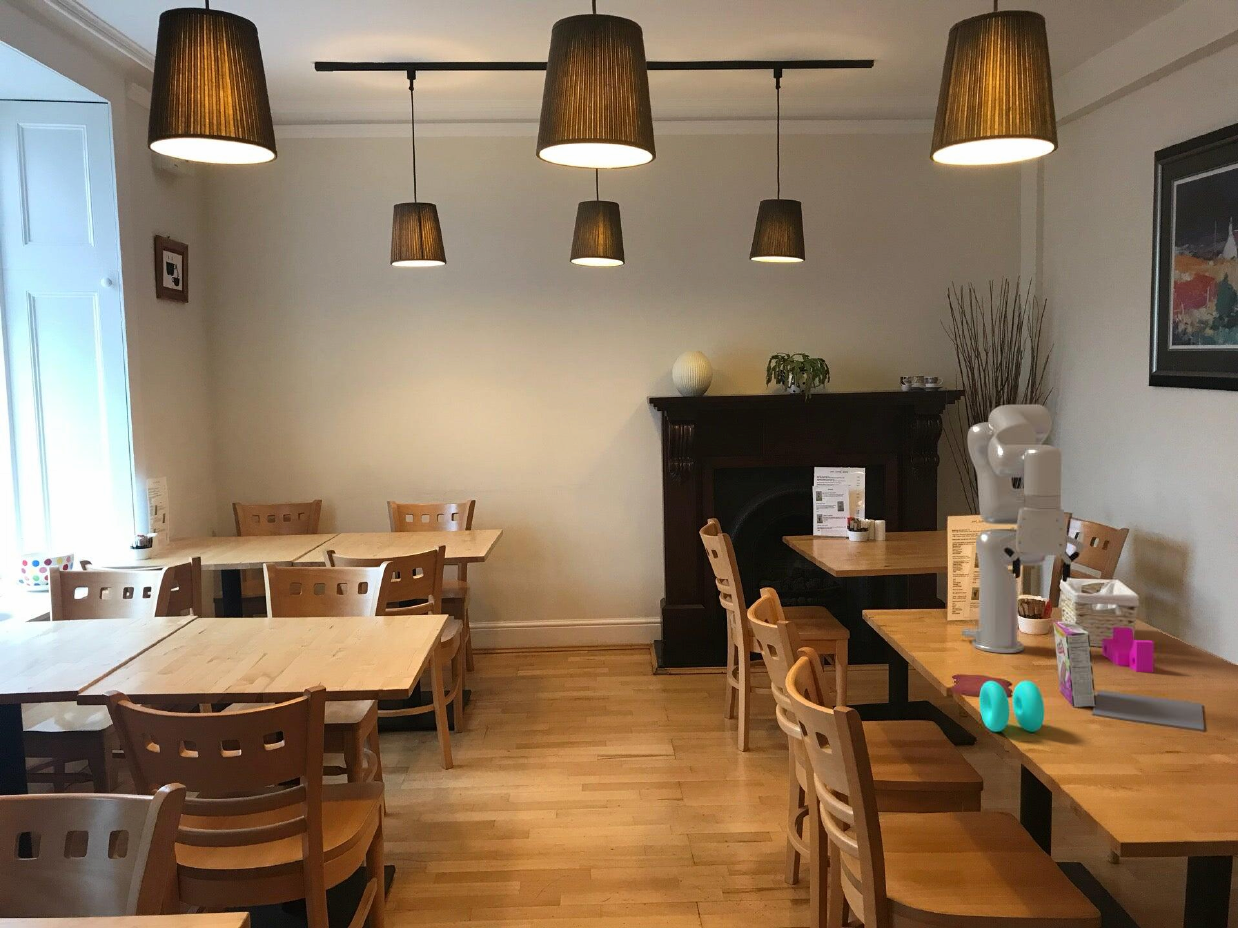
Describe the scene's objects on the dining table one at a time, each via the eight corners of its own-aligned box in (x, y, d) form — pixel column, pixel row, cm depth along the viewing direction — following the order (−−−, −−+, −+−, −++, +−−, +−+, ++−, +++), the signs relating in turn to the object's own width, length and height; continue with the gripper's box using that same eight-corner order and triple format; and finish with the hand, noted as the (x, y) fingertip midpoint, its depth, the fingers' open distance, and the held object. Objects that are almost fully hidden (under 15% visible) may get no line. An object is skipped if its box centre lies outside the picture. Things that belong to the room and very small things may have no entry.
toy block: (1102, 655, 242) (1102, 626, 241) (1128, 655, 241) (1128, 627, 240) (1125, 672, 227) (1125, 641, 226) (1152, 672, 226) (1153, 642, 225)
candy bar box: (1058, 692, 212) (1052, 621, 211) (1082, 691, 211) (1075, 619, 210) (1072, 708, 201) (1065, 633, 200) (1097, 707, 200) (1090, 632, 199)
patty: (950, 677, 226) (950, 669, 226) (1012, 683, 221) (1012, 674, 221) (947, 699, 210) (947, 690, 210) (1014, 706, 205) (1014, 697, 204)
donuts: (977, 721, 194) (977, 674, 193) (1025, 721, 194) (1026, 674, 193) (994, 739, 184) (995, 689, 183) (1046, 739, 184) (1047, 689, 183)
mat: (1091, 715, 196) (1091, 713, 196) (1098, 691, 212) (1098, 689, 212) (1203, 731, 186) (1204, 729, 186) (1201, 705, 202) (1201, 703, 202)
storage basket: (1057, 626, 272) (1058, 576, 271) (1119, 629, 267) (1120, 578, 266) (1072, 647, 249) (1073, 593, 248) (1140, 651, 244) (1141, 595, 243)
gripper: (997, 503, 208) (997, 578, 209) (1084, 506, 199) (1082, 585, 201) (1002, 499, 215) (1002, 573, 216) (1086, 502, 206) (1085, 579, 207)
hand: (1041, 579), depth 208 cm, fingers open, 9 cm apart
